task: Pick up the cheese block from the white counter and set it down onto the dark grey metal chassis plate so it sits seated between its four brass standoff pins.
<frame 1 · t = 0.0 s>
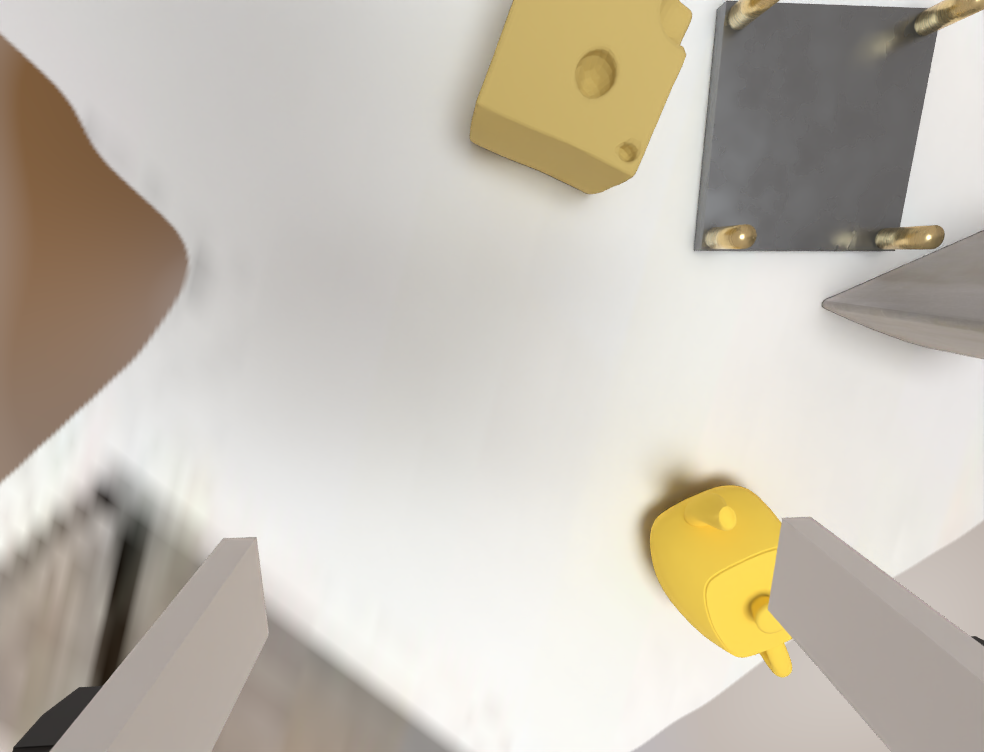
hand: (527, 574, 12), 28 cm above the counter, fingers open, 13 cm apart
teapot: (697, 528, 45), on the counter
chassis: (805, 138, 37), on the counter
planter: (920, 304, 41), on the counter
cheese: (555, 104, 36), on the counter
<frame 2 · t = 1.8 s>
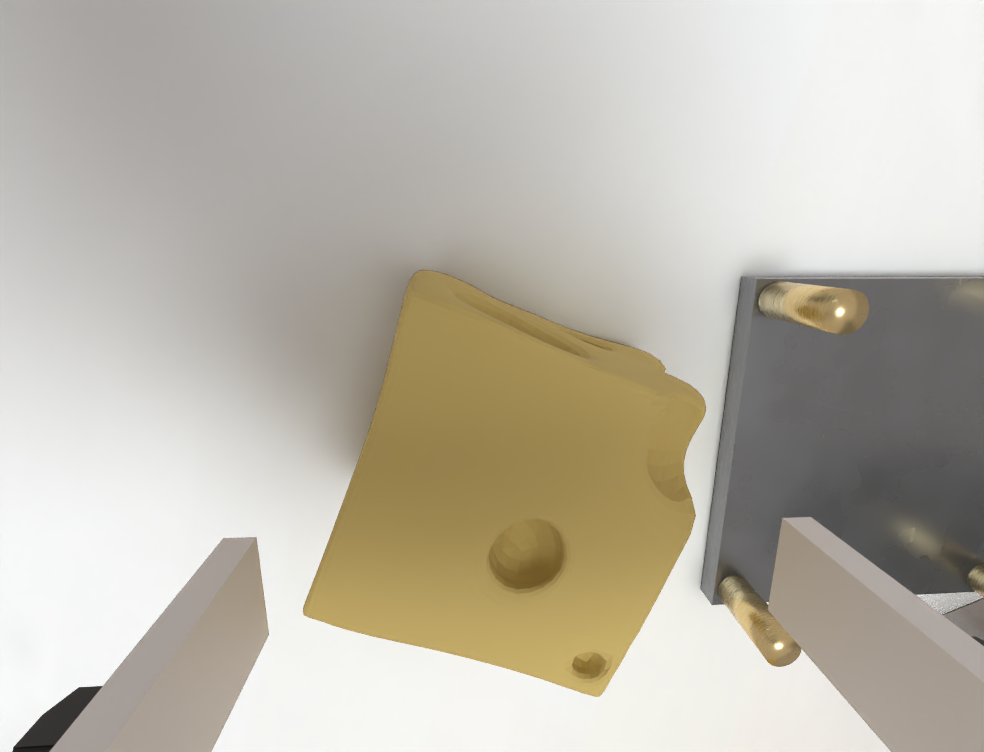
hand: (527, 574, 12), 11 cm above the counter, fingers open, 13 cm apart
chassis: (868, 442, 25), on the counter
cheese: (491, 410, 23), on the counter
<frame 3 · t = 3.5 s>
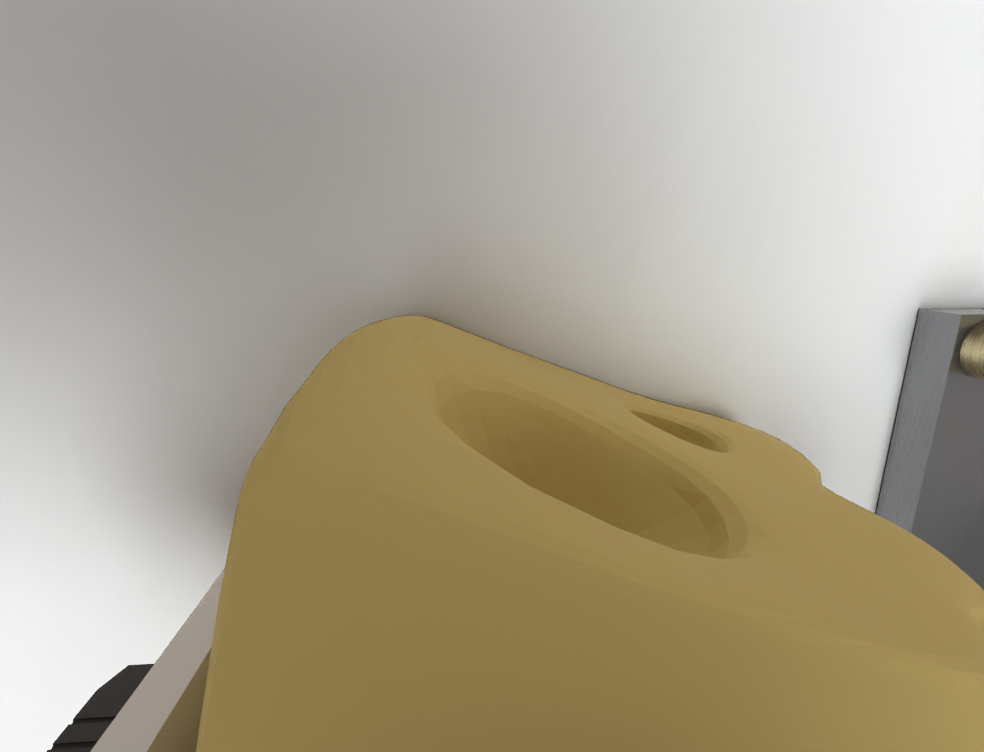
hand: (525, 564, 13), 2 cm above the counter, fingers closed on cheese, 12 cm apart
cheese: (510, 520, 15), on the counter, touching gripper
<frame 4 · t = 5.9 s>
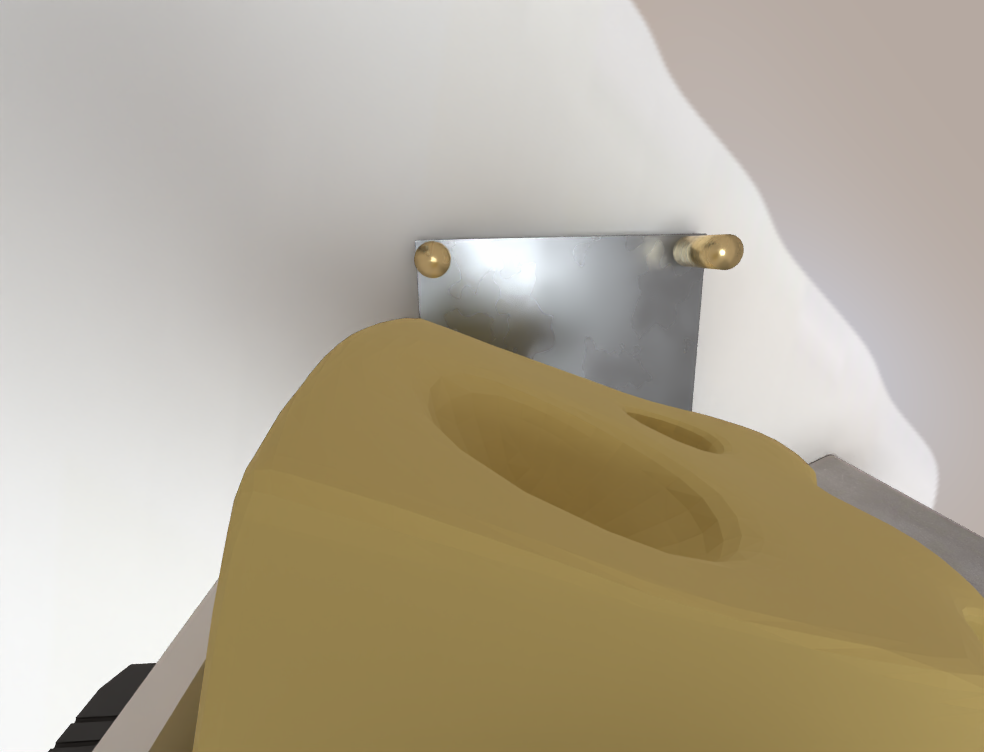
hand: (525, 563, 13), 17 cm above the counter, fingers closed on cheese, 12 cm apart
chassis: (557, 380, 29), on the counter
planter: (733, 549, 34), on the counter
cheese: (507, 522, 15), point 15 cm above the counter, touching gripper
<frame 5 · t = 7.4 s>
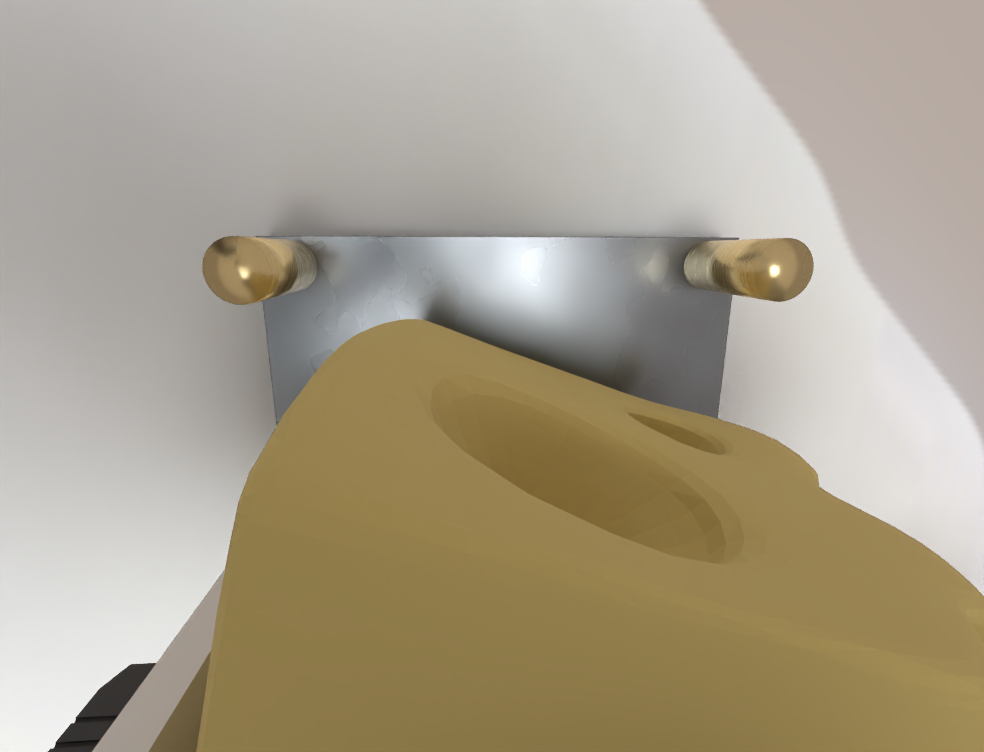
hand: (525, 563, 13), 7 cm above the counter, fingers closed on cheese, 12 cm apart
chassis: (500, 458, 19), on the counter
cheese: (508, 522, 15), point 4 cm above the counter, touching gripper
when the fingers open (4 cm above the counter, at t = 8.5 s): cheese drops 1 cm, resting on chassis.
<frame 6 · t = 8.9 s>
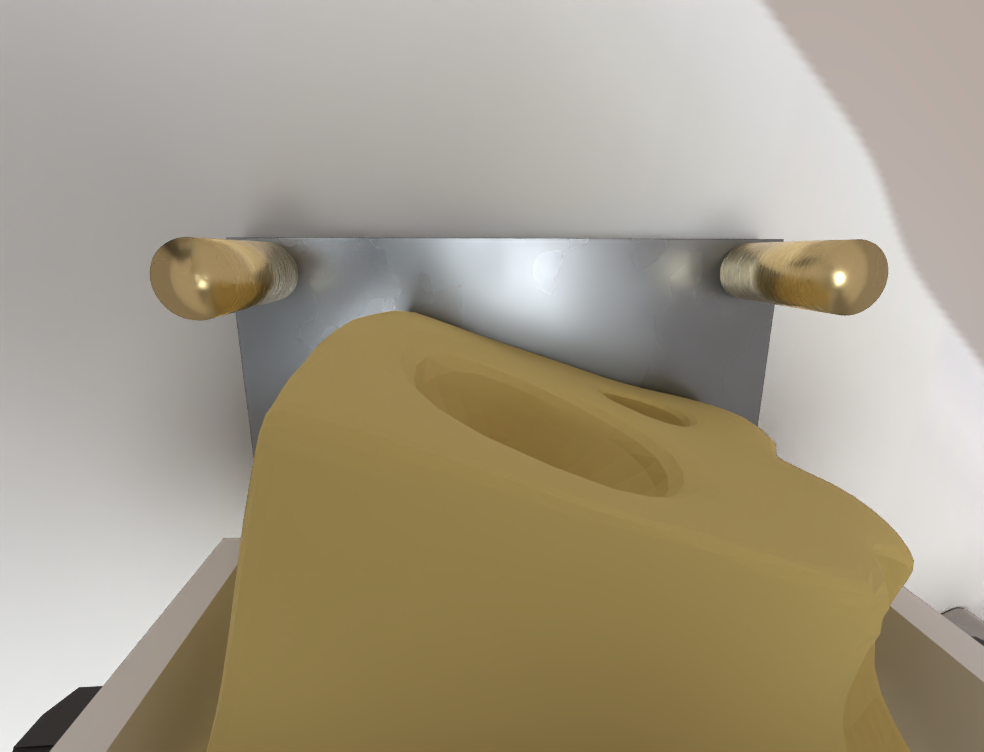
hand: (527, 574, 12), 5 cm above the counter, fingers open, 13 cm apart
chassis: (508, 487, 17), on the counter
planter: (793, 745, 21), on the counter
cheese: (500, 500, 16), point 1 cm above the counter, touching chassis
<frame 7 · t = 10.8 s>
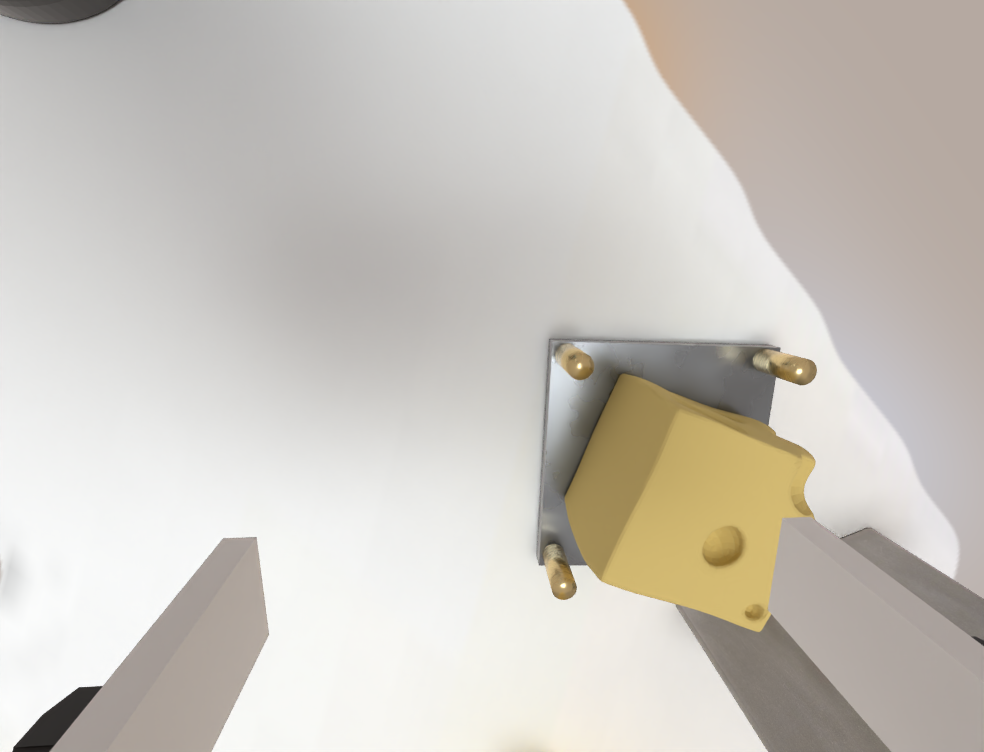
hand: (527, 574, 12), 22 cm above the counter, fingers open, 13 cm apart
chassis: (649, 454, 36), on the counter
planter: (783, 602, 40), on the counter
cheese: (649, 458, 35), point 1 cm above the counter, touching chassis
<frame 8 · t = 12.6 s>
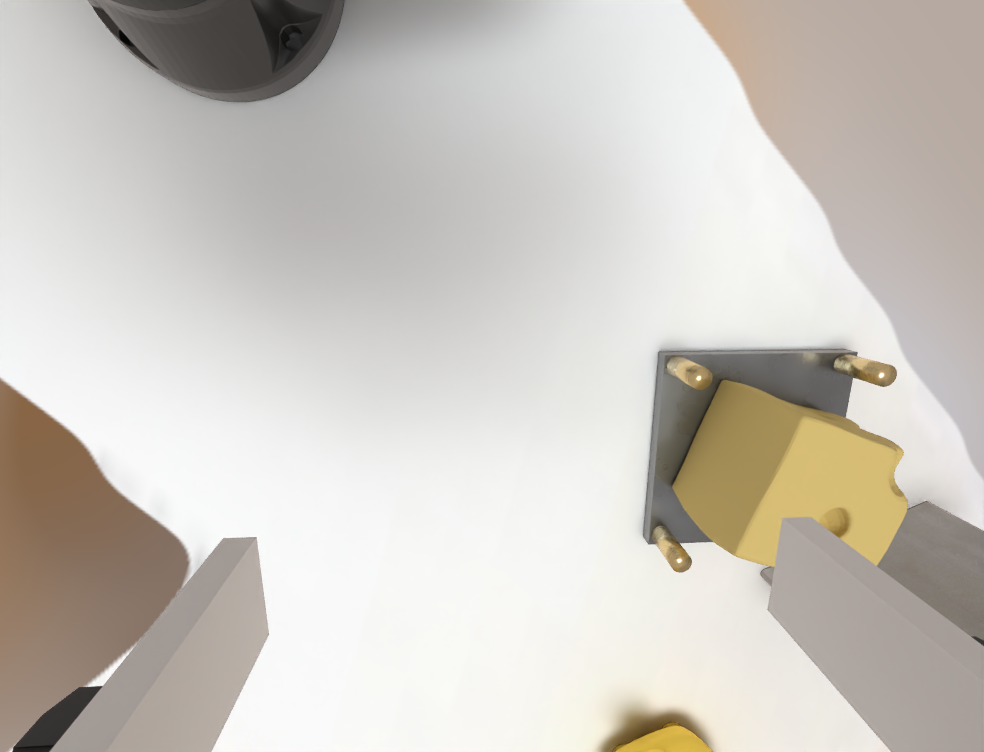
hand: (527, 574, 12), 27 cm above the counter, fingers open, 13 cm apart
chassis: (741, 446, 42), on the counter
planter: (851, 568, 46), on the counter
cheese: (743, 450, 41), point 1 cm above the counter, touching chassis
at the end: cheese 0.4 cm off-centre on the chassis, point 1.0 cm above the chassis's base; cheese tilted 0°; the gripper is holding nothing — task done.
